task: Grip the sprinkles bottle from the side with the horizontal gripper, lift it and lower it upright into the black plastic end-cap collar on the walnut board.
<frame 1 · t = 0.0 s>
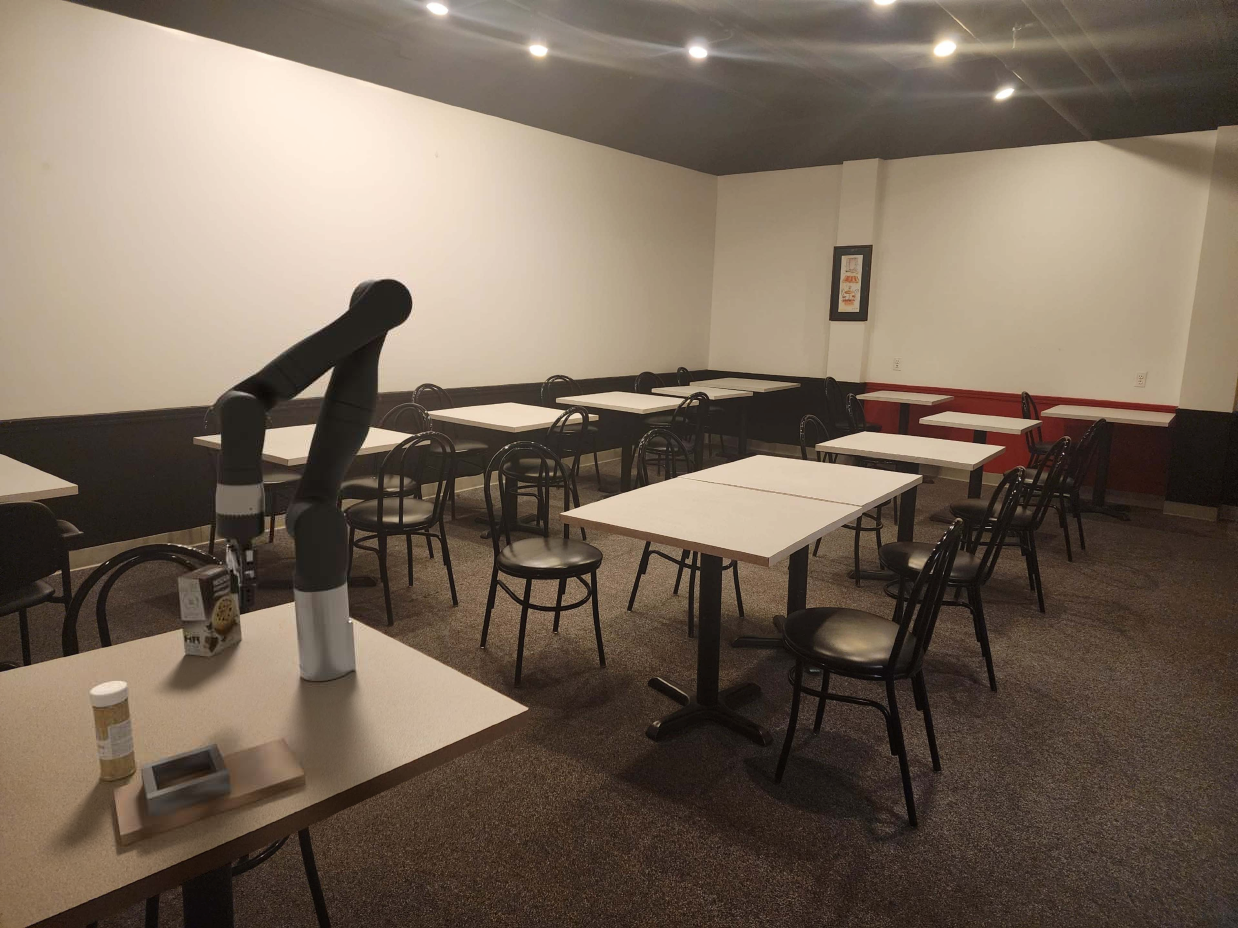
hand: (241, 599, 132), 17 cm above the table, tool pointing down, fingers open, 8 cm apart
sprinkles bottle: (119, 774, 110), on the table
cookie box: (214, 647, 153), on the table
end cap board: (211, 790, 106), on the table
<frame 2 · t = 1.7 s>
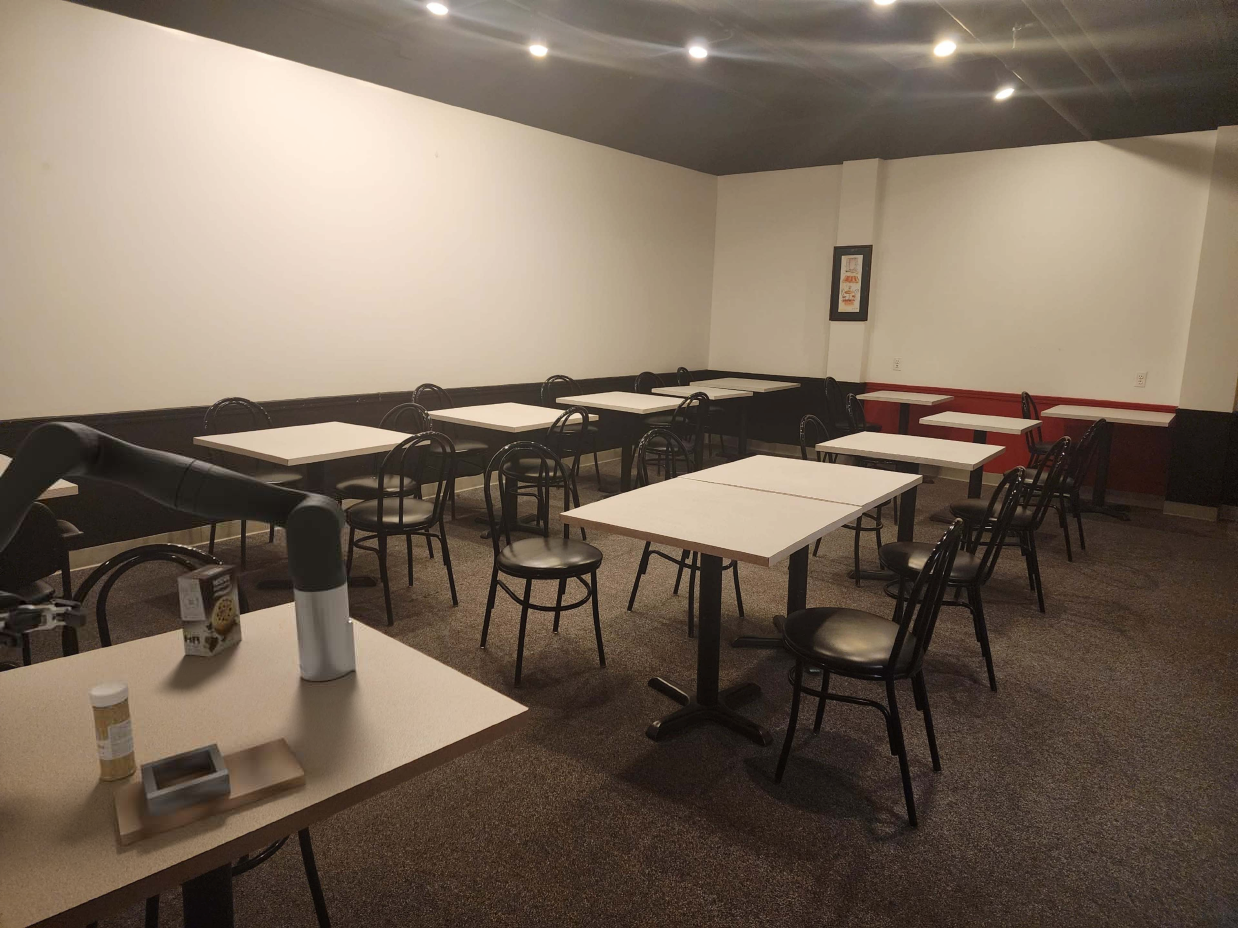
hand: (52, 631, 111), 20 cm above the table, tool horizontal, fingers open, 8 cm apart
nothing on the table moved.
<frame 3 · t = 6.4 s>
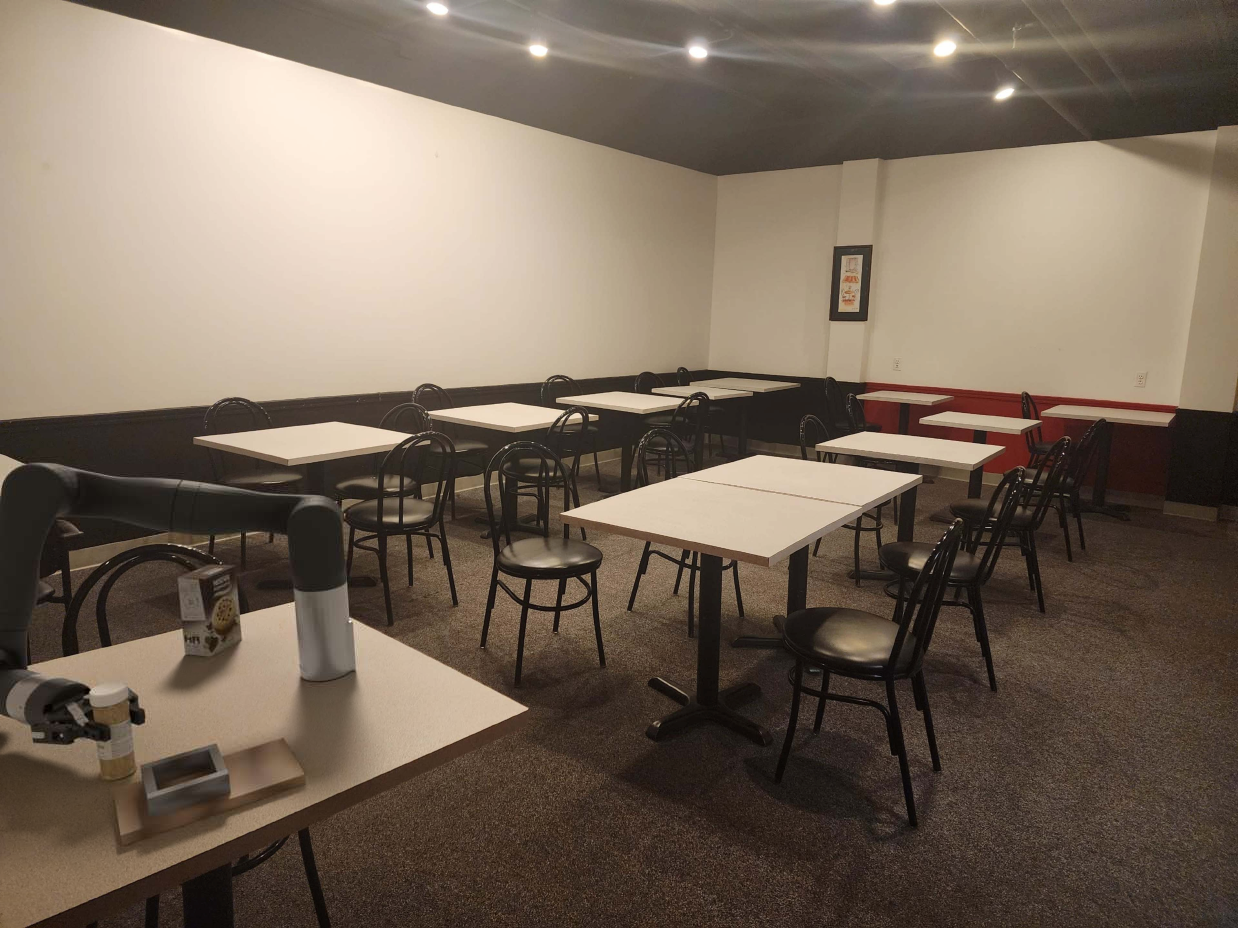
hand: (125, 725, 107), 8 cm above the table, tool horizontal, fingers closed on sprinkles bottle, 4 cm apart
sprinkles bottle: (119, 773, 110), on the table, touching gripper
everything else where it was.
when the fingers open (10 cm above the table, at t = 12.3 s): sprinkles bottle stays where it is, resting on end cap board.
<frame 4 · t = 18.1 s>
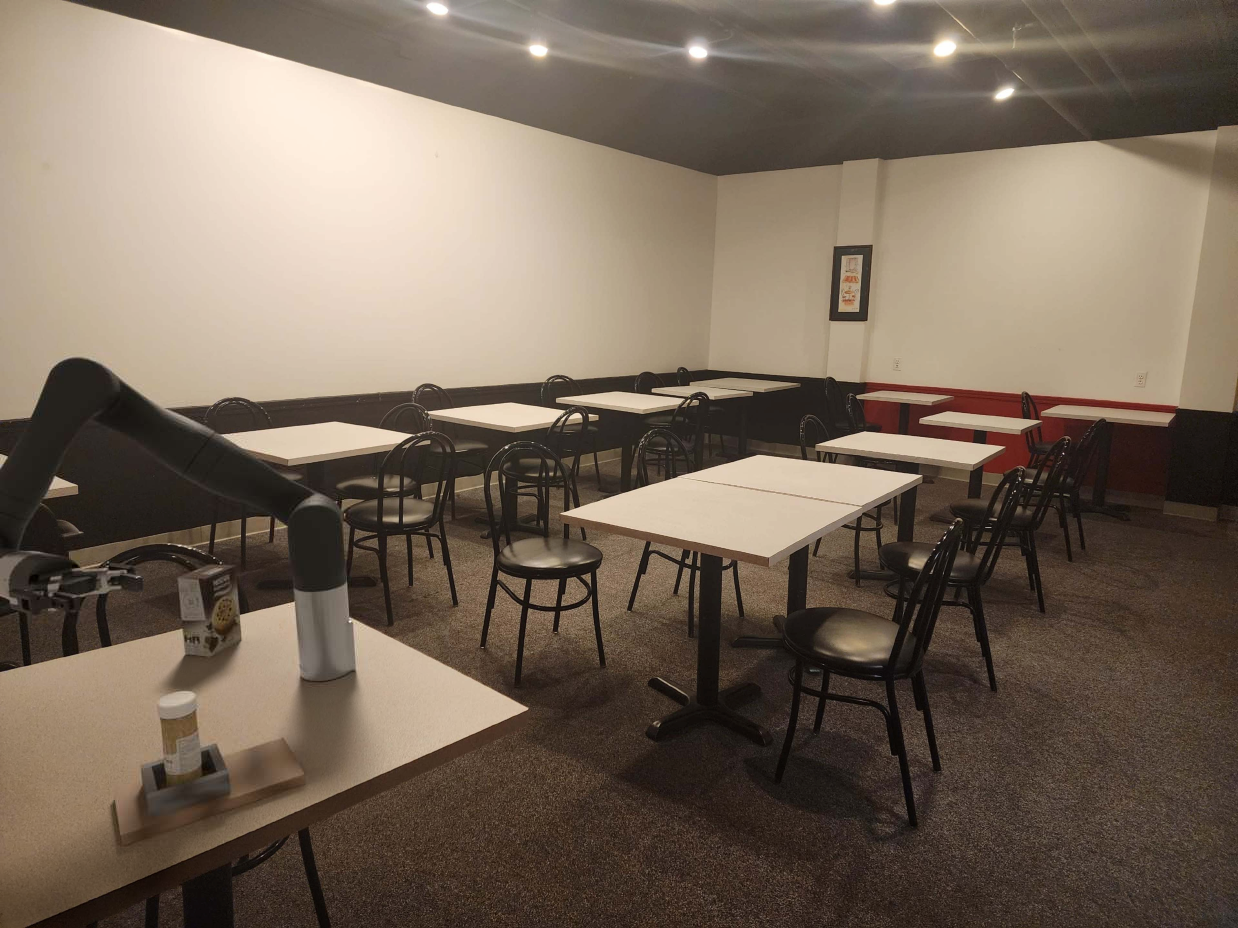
hand: (110, 593, 103), 28 cm above the table, tool horizontal, fingers open, 8 cm apart
sprinkles bottle: (186, 789, 104), point 1 cm above the table, touching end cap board
everything else where it was.
at the end: sprinkles bottle 0.2 cm from the target spot on the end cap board, point 1.3 cm above the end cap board's base; sprinkles bottle tilted 0°; the gripper is holding nothing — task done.
